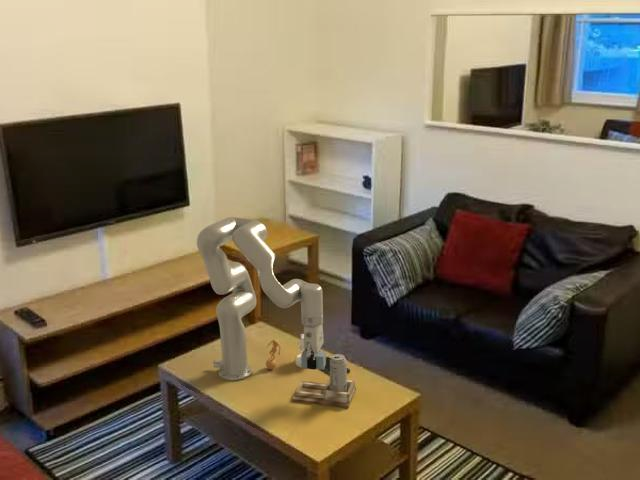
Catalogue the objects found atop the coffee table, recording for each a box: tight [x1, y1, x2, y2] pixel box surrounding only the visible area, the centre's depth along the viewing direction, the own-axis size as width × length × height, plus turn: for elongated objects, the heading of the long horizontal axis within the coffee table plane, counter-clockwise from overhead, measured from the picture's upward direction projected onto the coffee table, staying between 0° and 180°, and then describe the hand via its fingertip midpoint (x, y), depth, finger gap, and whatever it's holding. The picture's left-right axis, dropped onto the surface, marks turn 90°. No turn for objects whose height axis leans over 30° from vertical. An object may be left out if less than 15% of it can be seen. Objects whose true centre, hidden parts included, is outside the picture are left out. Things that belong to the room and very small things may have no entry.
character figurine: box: [295, 333, 304, 369], centre depth 277 cm, size 9×10×12 cm
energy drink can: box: [329, 353, 348, 392], centre depth 251 cm, size 6×6×15 cm
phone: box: [320, 356, 351, 376], centre depth 274 cm, size 8×1×15 cm
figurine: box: [265, 339, 282, 370], centre depth 273 cm, size 8×6×12 cm
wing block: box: [300, 351, 327, 371], centre depth 252 cm, size 8×4×5 cm, turn 77°
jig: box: [291, 377, 357, 409], centre depth 254 cm, size 20×13×4 cm, turn 76°
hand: (313, 365), depth 252 cm, fingers closed on wing block, 4 cm apart
